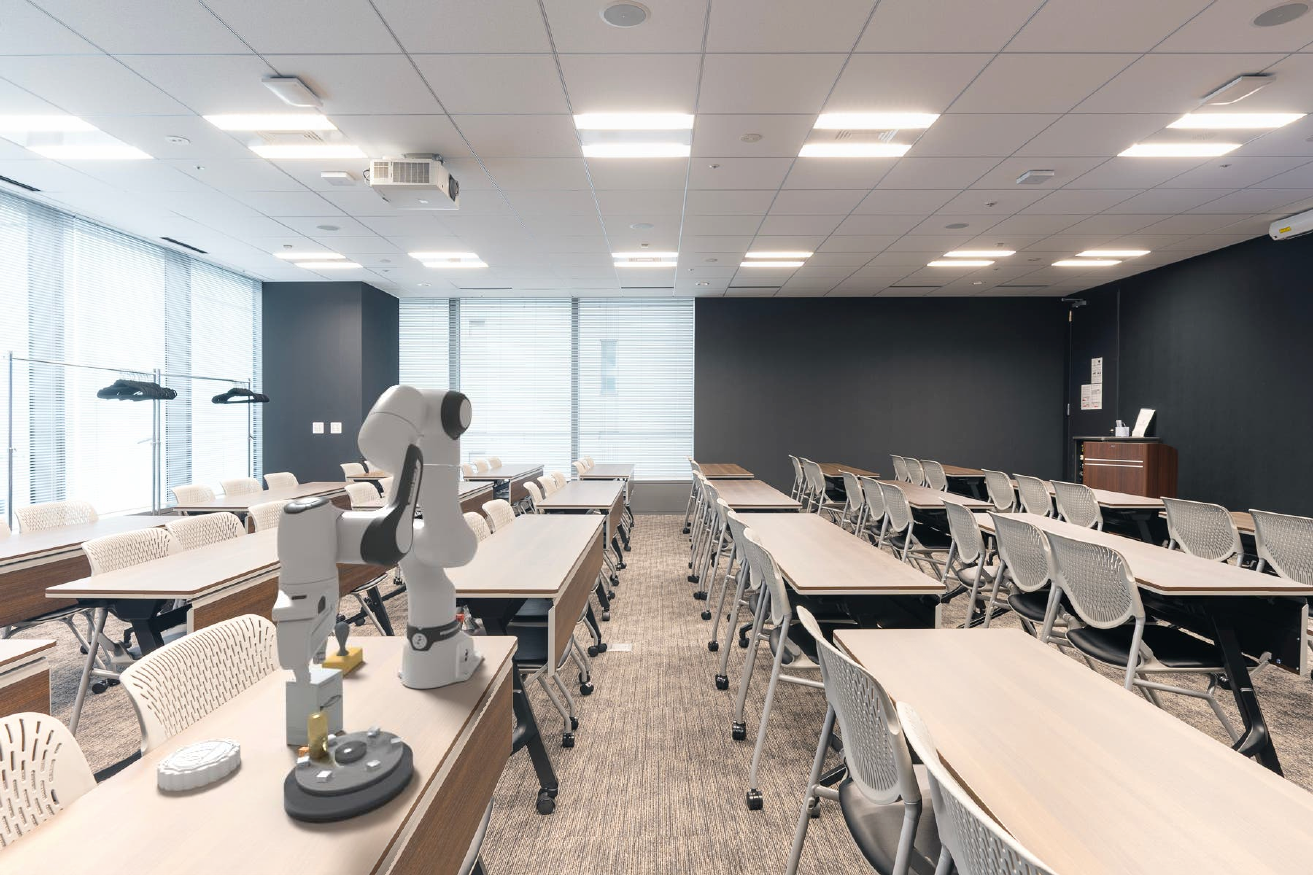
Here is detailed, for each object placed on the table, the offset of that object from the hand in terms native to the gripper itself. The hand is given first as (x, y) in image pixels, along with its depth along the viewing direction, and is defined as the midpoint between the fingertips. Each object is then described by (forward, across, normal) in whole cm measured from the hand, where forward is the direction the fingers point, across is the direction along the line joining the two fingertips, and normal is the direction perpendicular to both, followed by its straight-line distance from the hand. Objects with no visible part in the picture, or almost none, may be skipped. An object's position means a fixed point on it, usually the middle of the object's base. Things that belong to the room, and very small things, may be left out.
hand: (312, 673), depth 102 cm
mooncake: (+21, -12, -22) cm, 32 cm away
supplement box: (+21, -19, -5) cm, 29 cm away
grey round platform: (+20, 0, +6) cm, 21 cm away
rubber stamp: (+21, -55, -7) cm, 59 cm away
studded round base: (+17, 0, +6) cm, 18 cm away
